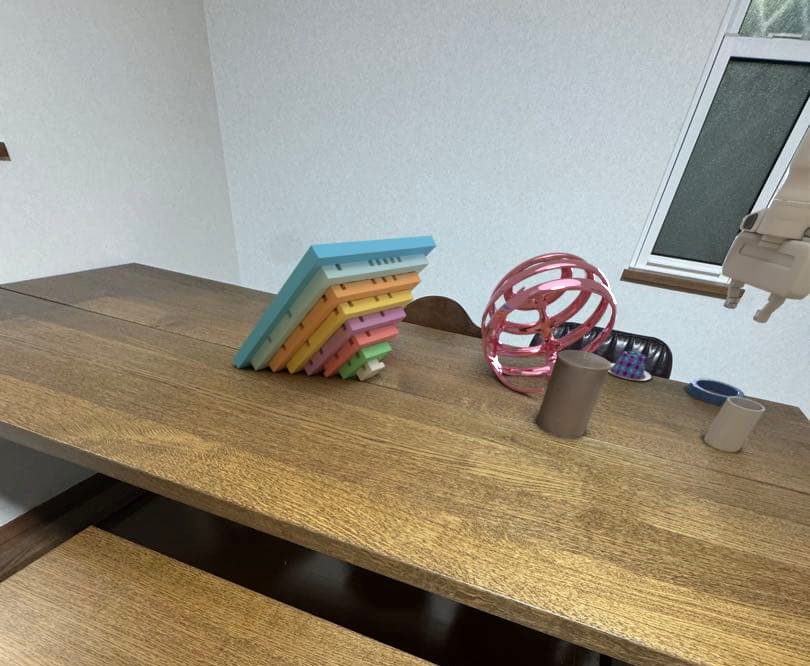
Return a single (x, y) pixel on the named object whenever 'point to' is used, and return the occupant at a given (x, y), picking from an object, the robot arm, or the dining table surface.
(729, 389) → the tape ring
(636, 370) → the pudding
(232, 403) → the dining table surface
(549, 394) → the pillar candle
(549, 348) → the spiral basket
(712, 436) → the cup
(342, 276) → the rainbow stepped pyramid
